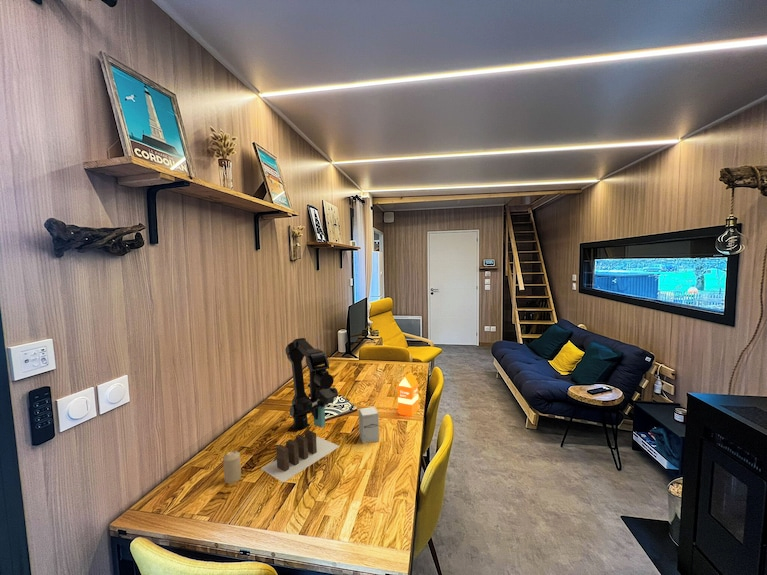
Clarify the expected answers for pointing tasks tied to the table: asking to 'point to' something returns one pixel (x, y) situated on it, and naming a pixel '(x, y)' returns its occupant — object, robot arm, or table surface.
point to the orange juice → (408, 395)
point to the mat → (301, 461)
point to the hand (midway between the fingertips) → (318, 418)
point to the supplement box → (368, 425)
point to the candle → (232, 467)
